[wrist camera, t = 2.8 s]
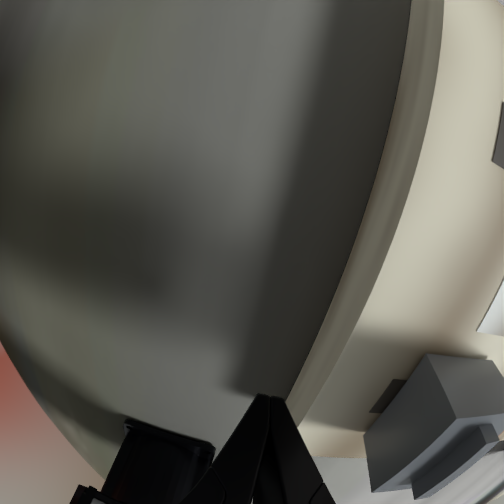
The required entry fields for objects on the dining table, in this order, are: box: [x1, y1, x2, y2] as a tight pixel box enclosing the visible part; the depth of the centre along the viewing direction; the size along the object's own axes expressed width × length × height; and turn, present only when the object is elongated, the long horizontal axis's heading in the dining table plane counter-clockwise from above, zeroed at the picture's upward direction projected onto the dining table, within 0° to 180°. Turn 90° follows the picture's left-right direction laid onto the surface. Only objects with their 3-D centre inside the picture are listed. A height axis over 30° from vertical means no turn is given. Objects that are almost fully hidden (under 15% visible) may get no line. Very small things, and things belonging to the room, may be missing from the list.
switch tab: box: [363, 353, 504, 500], centre depth 7 cm, size 4×5×4 cm
